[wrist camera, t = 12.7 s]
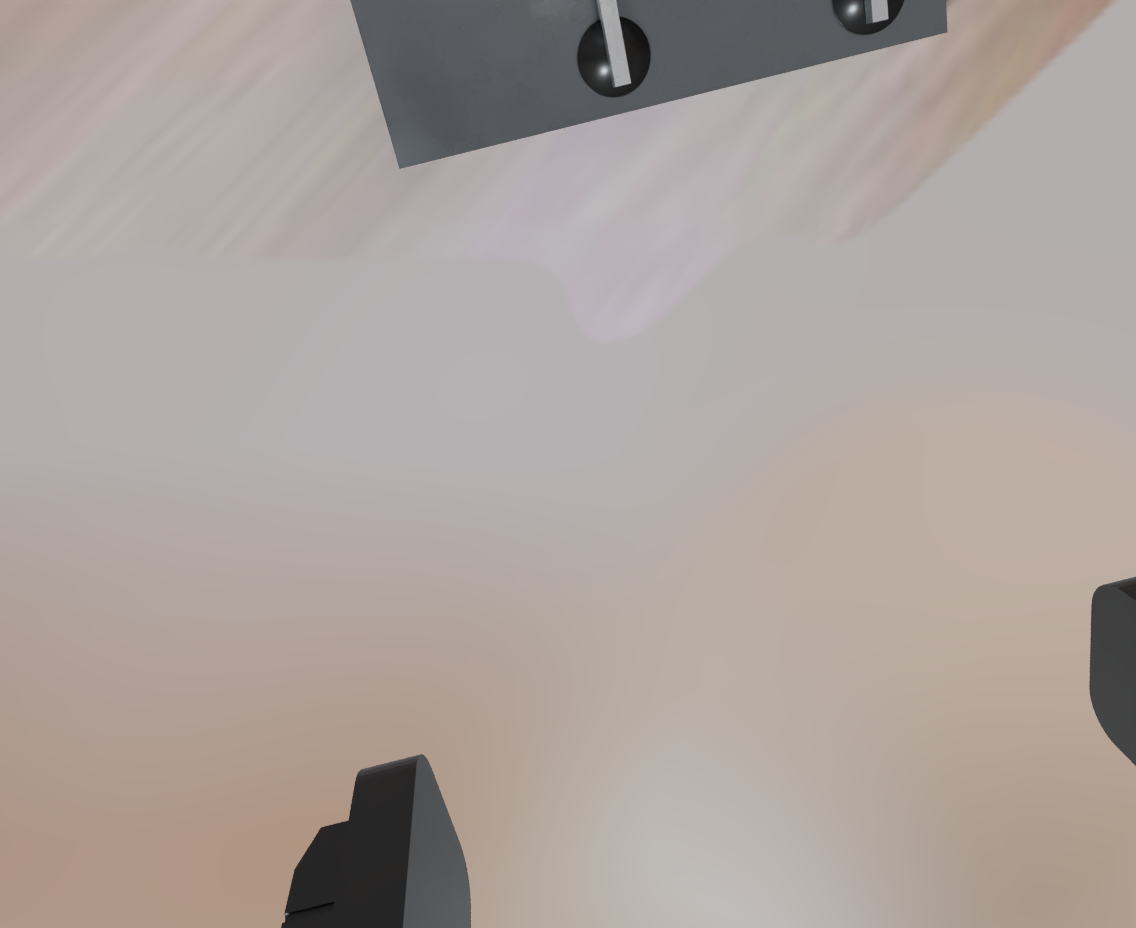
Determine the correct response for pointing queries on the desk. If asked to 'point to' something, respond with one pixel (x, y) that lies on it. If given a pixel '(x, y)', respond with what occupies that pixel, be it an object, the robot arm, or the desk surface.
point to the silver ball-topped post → (876, 10)
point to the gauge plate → (592, 58)
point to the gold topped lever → (614, 42)
